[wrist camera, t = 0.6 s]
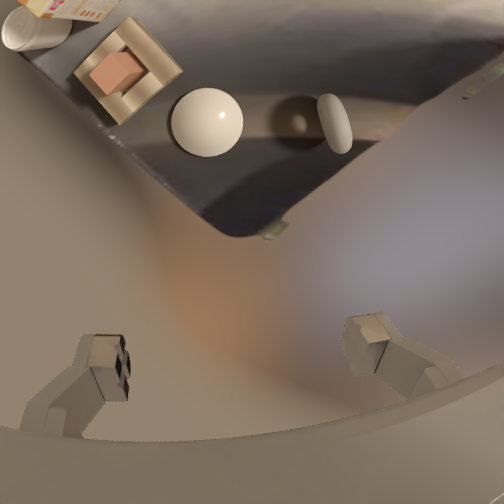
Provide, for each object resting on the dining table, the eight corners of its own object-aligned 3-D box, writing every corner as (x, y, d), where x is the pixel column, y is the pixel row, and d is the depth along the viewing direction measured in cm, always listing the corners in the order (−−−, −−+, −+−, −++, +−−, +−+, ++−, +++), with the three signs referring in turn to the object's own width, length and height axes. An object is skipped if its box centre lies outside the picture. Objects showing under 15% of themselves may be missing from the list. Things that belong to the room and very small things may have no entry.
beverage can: (32, 38, 38) (-8, 42, 29) (53, 1, 35) (15, -3, 25) (59, 54, 41) (21, 59, 32) (82, 16, 38) (46, 12, 28)
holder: (137, 19, 40) (129, 17, 37) (183, 71, 46) (179, 72, 43) (83, 70, 44) (73, 73, 41) (127, 119, 50) (119, 125, 47)
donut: (309, 92, 49) (322, 101, 40) (328, 87, 48) (345, 95, 40) (324, 145, 54) (339, 164, 46) (343, 140, 53) (361, 159, 45)
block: (131, 51, 42) (110, 52, 35) (147, 70, 44) (129, 73, 37) (111, 70, 44) (88, 74, 36) (127, 87, 46) (107, 95, 39)
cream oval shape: (213, 73, 46) (213, 74, 46) (257, 128, 52) (257, 129, 51) (158, 117, 50) (157, 118, 49) (202, 167, 56) (201, 169, 55)
